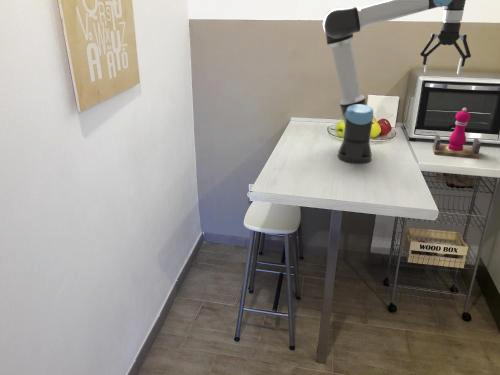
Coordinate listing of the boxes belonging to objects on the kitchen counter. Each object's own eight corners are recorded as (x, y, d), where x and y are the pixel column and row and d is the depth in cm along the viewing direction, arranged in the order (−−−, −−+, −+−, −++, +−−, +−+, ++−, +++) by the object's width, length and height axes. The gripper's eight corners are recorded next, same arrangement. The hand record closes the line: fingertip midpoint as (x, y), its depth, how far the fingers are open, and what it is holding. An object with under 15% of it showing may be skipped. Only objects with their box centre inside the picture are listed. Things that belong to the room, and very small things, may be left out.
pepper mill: (465, 152, 188) (475, 109, 180) (449, 150, 190) (458, 109, 181) (461, 147, 195) (471, 106, 186) (445, 146, 196) (454, 105, 188)
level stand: (434, 154, 191) (436, 141, 188) (432, 146, 201) (434, 133, 198) (478, 158, 185) (482, 145, 182) (474, 150, 195) (477, 137, 193)
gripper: (482, 22, 170) (470, 73, 179) (419, 21, 177) (411, 70, 186) (486, 22, 163) (473, 76, 172) (420, 21, 170) (411, 73, 179)
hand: (441, 73), depth 179 cm, fingers open, 13 cm apart
